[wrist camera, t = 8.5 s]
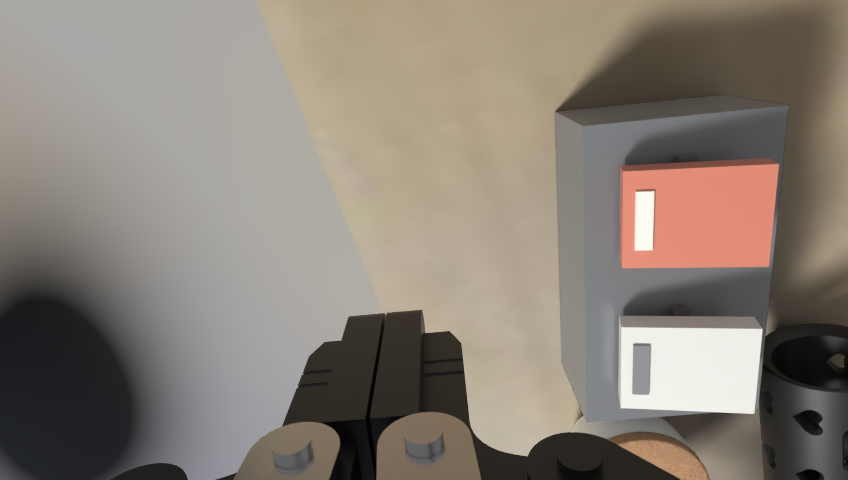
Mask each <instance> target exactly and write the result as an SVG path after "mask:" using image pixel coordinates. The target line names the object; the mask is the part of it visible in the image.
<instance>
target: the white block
mask: <svg viewBox="0 0 848 480" xmlns="http://www.w3.org/2000/svg"><path fill="white" fill-rule="evenodd" d="M762 331H763V329H762V327H761V326H760V324H759V323H758V321H757V320H756V319H755V317H731V316H619V371H618V395H619V401H620V407H621V408H630V409H653V410H676V411H699V412H722V413H745V414H754V412H755V402H756V392H757V382H758V371H759V361H760V351H761V341H762Z"/></svg>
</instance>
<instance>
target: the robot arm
mask: <svg viewBox="0 0 848 480" xmlns="http://www.w3.org/2000/svg"><path fill="white" fill-rule="evenodd" d="M298 386H299V387H298V388H297V389H296V392H295V395H294V397H293V400H292V402H291V405H290V407H289V410H288V413H287V415H286V418H285V420H284V423H283V425H282V427H280V428H278V429H275V430H273V431H271V432H269V433H268V434H266V435H265V436H263V437H262V438H261V439H259V440H258V441H257V442H256V443H255V444H254V445H253V446H252V448H251V449H250V451H249V452H248V454H247V456H246V457H245V459H244V461H243V463H242V465H241V466H240V468H239V470H238V472H237V473H235V474H232V475H229V476H227V477H223V478H220V479H217V480H681V479H679V478H678V477H676V476H674V475H672V474H670V473H668V472H666V471H665V470H663V469H661V468H659V467H657V466H655V465H654V464H652V463H650V462H648V461H646V460H644V459H643V458H641V457H639V456H637V455H635V454H633V453H632V452H630V451H628V450H626V449H624V448H622V447H621V446H619V445H617V444H615V443H613V442H611V441H609V440H607V439H605V438H603V437H600V436H597V435H593V434H588V433H580V432H567V433H560V434H556V435H552V436H550V437H547V438H545V439H543V440H541V441H540V442H538V443H537V444H536V445H535V446H534V447H533V448H532V449H531V451H530V453H529V455H528V457H526V456H520V455H514V454H509V453H504V452H501V451H498V450H496V449H493V448H491V447H489V446H488V445H486V444H485V443H483V442H482V441H481V440H479V439H478V438H477V437H476V435H475V434H474V433H473V431H472V429H471V426H470V422H469V412H468V403H467V394H466V384H465V375H464V365H463V356H462V347H461V343H460V342H459V340H458V339H457V338H456V337H455V336H454V335H453V334H452V333H451V332H450V331H446V332H435V333H425V326H424V318H423V312H422V310H415V311H403V312H392V313H387V314H386V315H385V313H382V314H371V315H359V316H350V317H349V318H348V320H347V324H346V327H345V331H344V334H343V337H342V341H332V342H324V343H323V344H322V345H321V346H320V347H319V348H318V349H317V350H316V351H315V352H314V353H312V354H311V355H310V356H309V358H308V361H307V364H306V366H305V369H304V372H303V375H302V377H301V379H300V382H299V384H298ZM111 480H187V476H186V474H185V472H184V471H183V470H182V469H181V468H180V467H178V466H176V465H172V464H166V463H157V464H149V465H144V466H140V467H137V468H134V469H131V470H129V471H126V472H124V473H122V474H120V475H118V476H116V477H115V478H113V479H111Z"/></svg>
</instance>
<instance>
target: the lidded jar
mask: <svg viewBox="0 0 848 480" xmlns="http://www.w3.org/2000/svg"><path fill="white" fill-rule="evenodd" d="M569 432H580V433H588V434H593V435H597V436H600V437H603V438H605V439H607V440H609V441H611V442H613V443H615V444H617V445H619V446H621V447H622V448H624V449H626V450H628V451H630V452H632V453H633V454H635V455H637V456H639V457H641V458H643V459H644V460H646V461H648V462H650V463H652V464H654V465H655V466H657V467H659V468H661V469H663V470H665V471H666V472H668V473H670V474H672V475H674V476H676V477H678V478H679V479H681V480H709V476H708V473H707V471H706V469H705V467H704V465H703V464H702V462H701V461H700V459H699V458H698V456H697V455H696V454H695V453H694V452H693V451H692V450H691V448H690V447H689V446H688V444H687V443H686V441H685V440H684V439H683V437H682V436H681V435H680V434H679V433H678V432H677V431H676V430H675V429H674V428H673V427H672V426H671V425H670V424H669V423H668V422H667V421H666V420H664V419H663V418H662V417H652V418H639V419H627V420H614V421H601V422H589V423H586V420H585V418H584V416H582V417H581V418H580V419H579V420H578V421H577V422H576V423H575V424H574V425H573V427H572V428H571V430H570V431H569Z"/></svg>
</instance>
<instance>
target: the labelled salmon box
mask: <svg viewBox="0 0 848 480" xmlns="http://www.w3.org/2000/svg"><path fill="white" fill-rule="evenodd" d="M778 169H779V164H778V163H777V162H775V161H773V160H772V159H770V158H758V159H739V160H719V161H700V162H681V163H661V164H642V165H623V166H620V254H619V259H620V263H621V267H622V268H706V267H769V260H770V250H771V240H772V230H773V220H774V210H775V199H776V189H777V179H778Z"/></svg>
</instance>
